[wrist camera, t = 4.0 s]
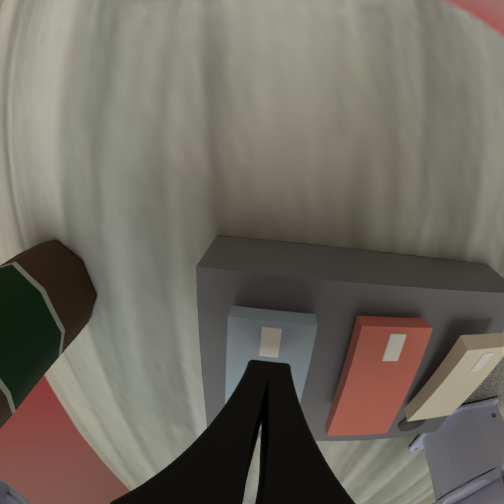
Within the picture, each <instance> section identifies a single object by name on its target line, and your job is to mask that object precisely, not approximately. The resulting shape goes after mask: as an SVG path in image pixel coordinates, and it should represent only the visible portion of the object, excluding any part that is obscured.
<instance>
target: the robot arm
mask: <svg viewBox="0 0 504 504" xmlns="http://www.w3.org/2000/svg"><path fill="white" fill-rule="evenodd" d="M499 400H500V399H499V398H498V397H496V398H493V399H489V400H484V401H480V402H476V403H471V404H466V405H461V406H459V407H458V408H457V409H456V410H455V411H454V412H453V413H452V414H451V415H449V416H448V417H447V418H446V420H445V421H444V422H443V423H442V425H441V426H440V427H439V428H438V429H437V430H436V431H435V432H429V433H423V434H420V435H419V436H418V438H417V439H416V440H415V441H414V442H413V443H412V444H411V446H410V447H409V448H408V449H409V451H415V450H421V449H424V450H425V454H426V458H427V462H428V466H429V470H430V475H431V479H432V484H433V489H434V494H435V499H436V502H434V503H432V504H504V421H503V419H502V416H501V414H500V412H499V410H498V408H497V406H496V404H497V403H498V402H499ZM260 426H261V445H260V472H259V484H258V490H257V497H256V503H255V504H355V503H354V501H353V500H352V499H351V498H350V496H349V495H348V494H347V492H346V491H345V489H344V488H343V487H342V485H341V484H340V482H339V481H338V480H337V478H336V477H335V475H334V474H333V472H332V470H331V469H330V467H329V466H328V464H327V462H326V461H325V459H324V457H323V455H322V453H321V452H320V450H319V448H318V446H317V444H316V442H315V440H314V438H313V435H312V433H311V431H310V429H309V426H308V424H307V422H306V419H305V417H304V414H303V411H302V408H301V406H300V403H299V400H298V397H297V393H296V390H295V386H294V382H293V378H292V373H291V366H290V365H289V364H288V363H280V362H270V361H261V360H253V359H252V360H250V361H248V364H247V367H246V369H245V372H244V374H243V376H242V378H241V380H240V382H239V383H238V385H237V387H236V389H235V390H234V392H233V393H232V395H231V396H230V398H229V400H228V401H227V403H226V404H225V406H224V407H223V408H222V410H221V411H220V412H219V414H218V415H217V416H216V417H215V419H214V420H213V421H212V423H211V424H210V425H209V426H208V427H207V429H206V430H205V431H204V432H203V433H202V434H201V435H200V436H199V438H198V439H197V440H196V441H195V442H194V443H193V444H192V445H191V446H190V447H189V448H188V449H187V450H185V451H184V452H183V453H182V454H181V455H180V456H179V457H178V458H177V459H176V460H174V461H173V462H172V463H171V464H170V465H168V466H167V467H166V468H165V469H163V470H162V471H161V472H159V473H158V474H156V475H155V476H154V477H152V478H151V479H149V480H148V481H147V482H145V483H144V484H142V485H140V486H139V487H137V488H136V489H134V490H132V491H130V492H129V493H127V494H125V495H123V496H121V497H119V498H118V499H116V500H114V501H112V502H111V503H110V504H242V502H243V497H244V491H245V485H246V480H247V476H248V471H249V468H250V464H251V460H252V457H253V453H254V449H255V445H256V441H257V438H258V434H259V430H260ZM0 504H31V503H30V501H29V500H28V499H26V498H25V497H24V496H22V495H21V494H20V493H19V492H17V491H16V490H15V489H14V488H12V487H11V486H10V485H8V484H7V483H6V482H5V481H3V480H1V479H0Z"/></svg>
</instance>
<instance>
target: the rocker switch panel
mask: <svg viewBox="0 0 504 504" xmlns="http://www.w3.org/2000/svg"><path fill="white" fill-rule="evenodd" d="M196 275H197V301H198V321H199V337H200V352H201V365H202V377H203V389H204V399H205V409H206V418H207V427H208V426H209V425H210V424H211V423H212V421H213V420H214V419H215V417H216V416H217V415H218V414H219V412H220V411H221V410H222V408H223V407H224V406H225V384H226V352H227V324H228V315H229V312H230V310H231V307H232V305H233V306H241V307H250V308H259V309H268V310H277V311H287V312H298V313H309V314H316V319H317V324H318V327H317V332H316V337H315V341H314V346H313V351H312V355H311V360H310V364H309V369H308V373H307V377H306V381H305V385H304V389H303V393H302V397H301V401H300V406H301V408H302V411H303V414H304V417H305V419H306V422H307V424H308V426H309V429H310V431H311V433H312V435H313V438H314V440H315V441H351V440H371V439H383V438H393V437H402V436H410V435H417V434H423V433H429V432H435V431H436V430H437V429H438V428H439V427H440V426H441V425H442V423H443V422H444V421H445V420H446V418H447V417H448V416H449V415H447V416H441V417H435V418H429V419H422V420H414V421H407V418H406V412H405V408H406V406H407V405H408V404H409V403H410V402H411V401H412V400H413V398H414V397H415V396H416V395H417V394H418V393H419V391H420V390H421V389H422V388H423V387H424V385H425V384H426V383H427V382H428V380H429V379H430V378H431V376H432V375H433V374H434V373H435V371H436V370H437V369H438V367H439V366H440V365H441V363H442V362H443V360H444V359H445V358H446V356H447V355H448V353H449V352H450V350H451V349H452V348H453V346H454V345H455V343H456V342H457V340H458V338H459V337H460V335H475V334H493V333H502V332H503V330H504V279H503V278H502V277H501V276H500V275H499V274H498V273H497V272H495V271H494V270H493V269H492V268H491V267H490V266H488V265H484V264H476V263H468V262H460V261H452V260H444V259H435V258H427V257H418V256H410V255H401V254H392V253H383V252H374V251H365V250H356V249H347V248H338V247H328V246H319V245H309V244H299V243H289V242H279V241H269V240H259V239H248V238H238V237H227V236H217V237H216V238H215V240H214V241H213V243H212V244H211V246H210V247H209V249H208V250H207V251H206V253H205V254H204V256H203V257H202V259H201V260H200V262H199V263H198V265H197V266H196ZM357 315H359V316H377V317H399V318H425V319H426V320H427V321H428V323H429V324H430V325H431V326H432V327H433V330H432V332H431V335H430V338H429V341H428V344H427V347H426V349H425V352H424V355H423V357H422V360H421V362H420V365H419V367H418V370H417V372H416V374H415V377H414V379H413V381H412V384H411V386H410V388H409V390H408V393H407V395H406V397H405V399H404V401H403V403H402V405H401V407H400V409H399V411H398V413H397V415H396V417H395V419H394V421H393V423H392V425H391V426H390V428H389V430H388V432H387V433H383V434H369V435H344V436H327V434H326V425H325V422H326V420H327V417H328V414H329V411H330V408H331V405H332V402H333V399H334V396H335V393H336V390H337V387H338V384H339V380H340V377H341V374H342V370H343V367H344V364H345V360H346V357H347V353H348V349H349V345H350V342H351V338H352V334H353V330H354V326H355V322H356V317H357ZM258 437H261V431H259V434H258Z"/></svg>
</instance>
